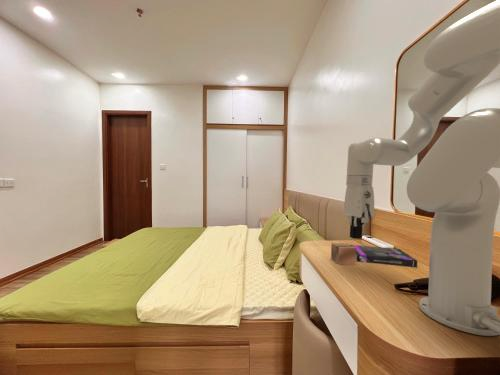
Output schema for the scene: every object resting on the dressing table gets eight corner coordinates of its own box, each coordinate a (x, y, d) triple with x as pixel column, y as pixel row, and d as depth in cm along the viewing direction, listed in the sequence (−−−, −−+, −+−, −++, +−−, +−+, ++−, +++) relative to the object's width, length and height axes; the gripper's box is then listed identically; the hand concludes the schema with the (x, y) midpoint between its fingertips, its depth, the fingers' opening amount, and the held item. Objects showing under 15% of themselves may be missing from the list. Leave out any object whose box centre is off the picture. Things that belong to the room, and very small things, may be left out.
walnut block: (356, 247, 77) (346, 243, 83) (339, 247, 77) (331, 243, 83) (355, 264, 77) (346, 259, 83) (339, 264, 77) (331, 259, 83)
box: (356, 264, 81) (417, 269, 77) (356, 254, 81) (418, 259, 77) (349, 252, 95) (400, 256, 90) (349, 244, 95) (401, 248, 90)
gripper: (386, 182, 65) (382, 245, 65) (357, 181, 79) (353, 232, 80) (361, 181, 64) (357, 244, 64) (336, 181, 79) (333, 232, 79)
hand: (355, 237), depth 72 cm, fingers closed
